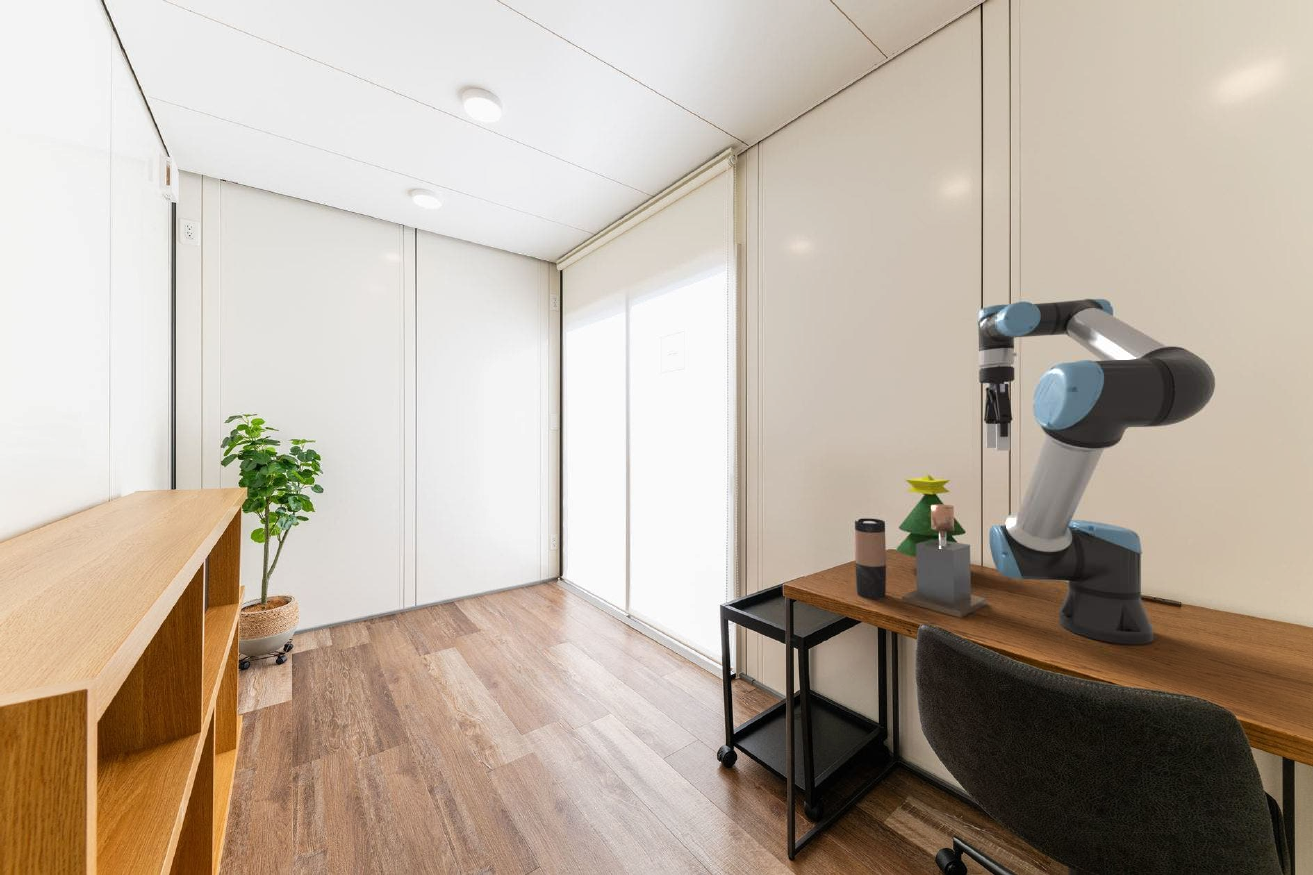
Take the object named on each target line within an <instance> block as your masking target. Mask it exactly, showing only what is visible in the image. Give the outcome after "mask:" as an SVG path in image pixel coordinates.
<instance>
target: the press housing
mask: <svg viewBox="0 0 1313 875" xmlns="http://www.w3.org/2000/svg"><path fill="white" fill-rule="evenodd" d="M915 568H916V569H915V573H916V574H915V576H916V581H915V582H916V589H915V590H914V591H910V592H909V593H905V594H903V595H902V596H901V602H902V603H906V604H910V605H913V606H916V607H920V608H924V609H927V610H931V611H935V612H937V613H942V614H945V615H949V616H953V617H956V618H960V619H961V618H963V617H966V616H968V615H969V614H971V613H973V612H975V611H977V610H978V609H980V608H983V607H984V606H987V598H985V597H982V596H978V595H973V594H972V586H971V585H972V584H971V580H972V578H971V545H970V544H967V543H962V542H961V543H960V542H958V543H956V542H950V541H946V546H940V545H939V540H937V539H931V540H928V541H924V542H921V543H918V544H916V557H915Z"/></svg>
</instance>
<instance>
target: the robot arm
mask: <svg viewBox="0 0 1313 875" xmlns="http://www.w3.org/2000/svg"><path fill="white" fill-rule="evenodd" d="M1111 305H1112V304H1111V302H1110V301H1109V300H1108V299H1105V298H1085V299H1078V300H1068V301H1057V302H1056V301H1054V302H1041V303H1040V302H1039V303H1031V302H1029V301H1018V302H1017V301H1016V302H1014V303H1010V304H996V305H995V304H994V305H991V306H987V307H983V308H981V309H980V310H979V312H978V321H977V325H978V326H977V328H978V367H979V368H980V369H979V371H978V379H979V383H980V384H988V387H986V388H985V404H984V418H983V421H984V423H985V440H986V441H985V448H986V449H996V451H998V452H999V451H1011V422H1012V421H1013V415H1012V407H1011V400H1010V399H1011V398H1010V390H1009V387H1010V385H1009V383H1010V382H1014V380H1015V367H1014V366H1012V365H1014V364H1015V357H1017V356H1018V355H1017V352H1014V351H1015V339H1017V338H1025V337H1026V338H1028V337H1029V338H1030V337H1041V336H1042V337H1043V336H1059V335H1067V336H1068V337H1070V338H1071V339H1072V340H1074V341H1075V342H1076V343H1077V344H1079V345H1080V346H1082V347H1083V348H1084V349H1086V350H1087V351H1088V352H1090V353H1091V354H1093V355H1094V356H1095V357H1096V358H1098V359H1099V360H1090V359H1086V360H1085V359H1082V360H1077V361H1074V362H1072V361H1070V362H1062V363H1058V364H1057V365H1054V366H1052V367H1050V368H1049V369H1047V371H1046V372H1045V373H1043V375H1042V376H1041V377H1040V379H1039V381H1038V382H1037V384H1036V387H1035V389H1034V394H1033V400H1034V403H1033V404H1032V411H1033V416H1034V419H1035V421H1036V422H1037V423H1038V425H1039V426H1040V429H1041V431H1042V432H1043V433H1044V435H1045V438H1044V441H1043V443H1042V446H1041V449H1040V451H1039V455H1038V457H1037V459H1036V463H1035V465H1034V468H1033V471H1032V473H1031V476H1030V479H1029V482H1028V485H1027V487H1026V490H1025V493H1024V496H1023V498H1022V501H1021V504H1020V507H1019V509H1018V510H1016V511H1014V512H1012V513H1011V514H1009V515H1008V516H1007V519H1006V521H1005V522H1004V523H1005V524H1003V525H1001V524H997V525H993V526H991V527H990V529H989V535H988V536H989V541H988V542H989V549H990V552H991V556H992V560H993V563H994V566H995V568H996V570H997V571H998V573H999V574H1000V575H1002V576H1004V577H1005V578H1010V579H1017V580H1035V581H1036V580H1039V581H1040V580H1041V581H1057V582H1058V581H1061V582H1062V581H1063V582H1068V590H1067V593H1066V596H1065V598H1064V600H1063V602H1062V604H1061V607H1060V610H1059V612H1058V621H1059V622H1058V623H1059V624H1060V626H1061V627H1063V628H1064V629H1066V630H1068V631H1069V632H1072V633H1074V634H1077V635H1080V636H1082V635H1083V637H1086V638H1090V639H1093V640H1098V641H1100V642H1101V641H1102V642H1107V643H1113V644H1121V645H1129V646H1130V645H1133V646H1134V645H1136V646H1137V645H1146V644H1151V643H1152V642H1153V641H1154V628H1153V625H1152V623H1151V621H1150V618H1149V616H1148V613H1147V611H1146V609H1145V607H1144V604H1143V602H1142V554H1143V550H1142V547H1141V539H1140V536H1139V535H1138V533H1137V532H1136V531H1134V530H1132V529H1129V528H1127V527H1122V526H1119V525H1114V524H1108V523H1103V522H1097V521H1091V520H1083V519H1082V520H1081V519H1073V517H1074V515H1075V513H1076V511H1077V508H1078V506H1079V504H1080V502H1081V500H1082V498H1083V495H1084V493H1085V491H1086V489H1087V487H1088V484H1089V482H1090V480H1091V477H1092V476H1093V474H1094V471H1095V470H1096V467H1097V465H1098V464H1099V463H1098V462H1099V461H1100V458H1101V456H1102V454H1103V452H1104V450H1106V449H1110V448H1112V447H1115V446H1117V445H1118V444H1119V443H1120V442H1121V440H1122V438H1123V436H1124V434H1125V432H1126V430H1127V429H1128V428H1143V427H1144V428H1147V427H1152V428H1153V427H1154V428H1155V427H1156V428H1157V427H1164V426H1170V425H1175V424H1178V423H1181V422H1184V421H1186V420H1187V419H1189V418H1192V417H1193V416H1195V415H1196V414H1198V413H1199V412H1201V411H1202V410H1203V409H1204V408H1205V407H1206V405H1207V404H1209V402H1210V400H1211V399H1212V397H1213V395H1214V393H1215V388H1216V378H1215V374H1214V372H1213V369H1212V368H1211V366H1210V365H1209V364H1208V363H1207V362H1206V361H1205V360H1204V359H1202V358H1201V357H1200V356H1199V355H1196V354H1195V353H1193V352H1192V351H1190V350H1188V349H1186V348H1184V347H1180V346H1177V345H1176V346H1174V345H1165V344H1163V343H1161V342H1160V341H1158V340H1157V339H1154V338H1152V337H1151V336H1149V335H1147V334H1145V333H1144V332H1143V331H1141V330H1138V329H1137V328H1135V327H1133V326H1131V325H1130V324H1128V323H1126V322H1124V321H1122V320H1121V319H1119V318H1117V317H1115V316H1114V309H1113V306H1111Z"/></svg>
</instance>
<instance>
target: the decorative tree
mask: <svg viewBox="0 0 1313 875" xmlns="http://www.w3.org/2000/svg"><path fill="white" fill-rule="evenodd" d="M905 481H906V482H907V483H908V484H909V485H911V487H910V488H909V489H908V490H907V492H909V493H916V494H917V493H918V494H922V495H923V496H922V497H921V499H920V500H919V501H918V503H916V505H915V506H914V507H913V509H912V510H911V512H909V514H908V515H907V516H906V517H905V519H904V520H903V521H902V522H901V524H899V526H898V529H899V530H901V531H903V532H906V533H909V534H908V535H907V536H906V537H905V539H904V540H903V541H902V542H901V543H900V544H899V545H898V546H897V548H896V550H897V552H899V553H900V554H902V555H906V556H909V557H915V558H916V544H918V543H921V542H924V541H928V540H931V539H937V540H939V531H936V530H932V529H931V505H933V504H944V502H943V501H942V500H941V499H940V497H939V496H938V494H946V493H950V491H949V490H948V489H947V488H946V487H945V485H946V484H947V483H949V482H950V481H951V480H950V479H942V478H940V479H939V478H933V476H930V474H926V475H925V476H924V477H920V478H919V477H917V478H910V479H908V478H907V479H905ZM966 532H967V531H966V530H965V529H964V528H963V526H962V525H961V524H960V522H959V521H958V520H957V519H956V518H955V517H954V531H946V541H950V542H956V543H959V542H958V541H957V540H956V539H955V538H954V536H962V535H964V534H966Z"/></svg>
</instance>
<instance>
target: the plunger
mask: <svg viewBox="0 0 1313 875" xmlns="http://www.w3.org/2000/svg"><path fill="white" fill-rule="evenodd" d="M954 511H955V510H954V505H951V504H944V503H943V504H933V505H931V529H932V530H936V531H939V545H940V546H946V531H954V518H955V512H954Z"/></svg>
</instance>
